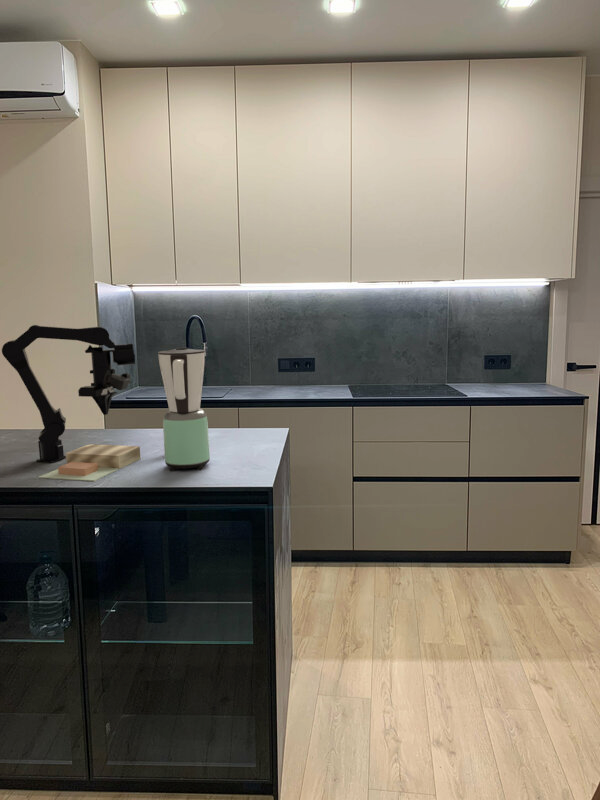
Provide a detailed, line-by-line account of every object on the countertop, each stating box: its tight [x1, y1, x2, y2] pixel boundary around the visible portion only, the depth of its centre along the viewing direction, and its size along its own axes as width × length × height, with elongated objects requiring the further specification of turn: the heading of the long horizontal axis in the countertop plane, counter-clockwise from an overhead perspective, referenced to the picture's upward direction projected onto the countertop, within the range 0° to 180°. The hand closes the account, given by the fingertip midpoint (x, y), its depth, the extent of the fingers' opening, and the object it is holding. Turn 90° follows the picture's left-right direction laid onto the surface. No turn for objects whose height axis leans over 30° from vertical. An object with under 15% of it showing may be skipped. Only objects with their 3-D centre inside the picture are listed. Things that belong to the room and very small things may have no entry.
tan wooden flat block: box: [65, 443, 141, 470], centre depth 184 cm, size 18×12×4 cm, turn 75°
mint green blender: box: [157, 347, 211, 472], centre depth 174 cm, size 19×13×35 cm
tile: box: [57, 462, 98, 476], centre depth 173 cm, size 9×6×2 cm, turn 74°
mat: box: [38, 467, 120, 482], centre depth 173 cm, size 18×12×1 cm, turn 75°
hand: (105, 414), depth 194 cm, fingers closed
